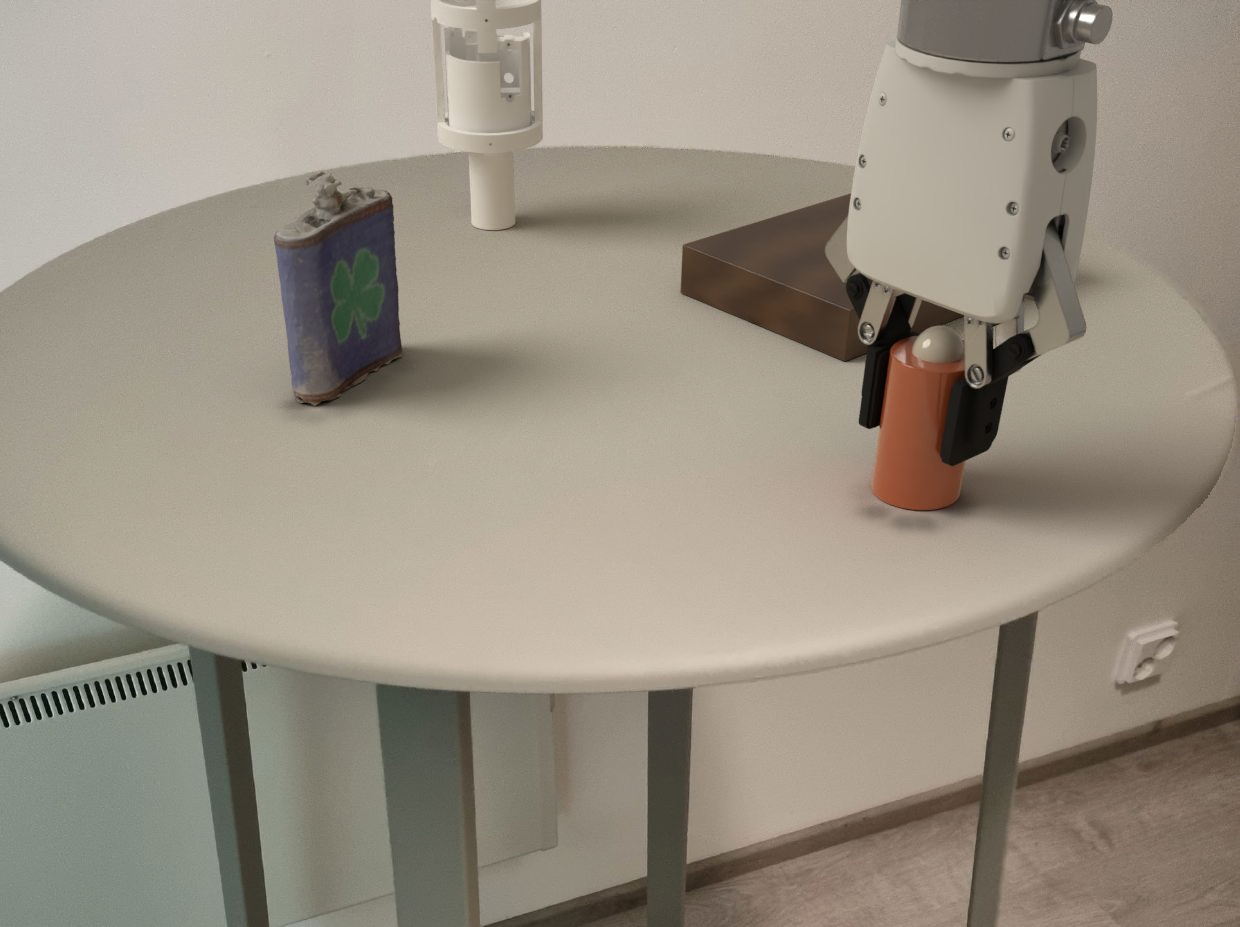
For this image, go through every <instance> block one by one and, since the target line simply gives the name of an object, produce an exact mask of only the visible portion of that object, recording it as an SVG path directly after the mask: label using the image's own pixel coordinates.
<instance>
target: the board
mask: <svg viewBox="0 0 1240 927" xmlns="http://www.w3.org/2000/svg"><path fill="white" fill-rule="evenodd" d="M850 198H851V192H850V193H847V194H844V195H840V196H836V197H834V198H831V199H827V200H824V201H821V202H817V203H815V204H814V203H813V204H812V205H808V206H805V207H802V208H797V209H795V210H792V211H788V212H785V213H782V214H779V215H775V216H772V217H769V218H765V219H762V220H759V221H756V222H752V223H749V224H746V225H742V226H739V227H736V228H733V229H729V230H726V231H722V232H719V233H716V234H713V235H710V236H706V237H703V238H700V239H696V240H694V241H693V240H692V241H690V242H687V243H684V244H682V248H681V249H682V250H681V270H680V272H681V273H680V293H681V294H683V295H685V296H688V297H689V298H692V299H695V300H697V301H700V302H702V303H704V304H706V305H709V306H712V307H713V308H716V309H719V310H721V311H723V312H726V313H728V314H730V315H733V316H734V317H737V318H740V319H742V320H745V321H747V322H750V323H752V324H755V325H757V326H760V328H761V327H762V328H764V329H767V330H769V331H771V332H773V333H776V334H778V335H780V336H783V337H785V338H788V339H790V340H792V341H795V342H797V343H800V344H802V345H804V346H807V347H809V348H811V349H814V350H816V351H819V352H821V353H824V354H826V355H828V356H831V357H833V358H836V359H838V360H841V361H843V362H846V361H849V360H852V359H854V358H855V359H856V357H859V356H862V355H865V354H867V347H868V345H866V344H864V343H863V342H862V341H861V340H860V338H859V336H858V325H859V322H860V320H859V318H858V315H857V313H856V311H855V309H854V307H853V305H852V303H851V301H850V299H849V297H848V295H847V292H846V283H845V282H844V283H843V282H842V280H841V279H840V277H839V276H838V274H837V273H836V271H835V269H834V268H833V266H832V265H831V263H830V262H829V260H828V259H827V257H826V255H825V246H826V243H827V242H828V241H829V239H830V238H831V237H832V235H833V234H834V233H835V231H836V230H837V229H838V227H839V226H840V225H841V224H842V222H843V221H844V220H845V218H846V217H847V216H848V214H849V205H850ZM961 317H964V315H962V314H960V313H957V312H954V311H952V310H949V309H946V308H943V307H941V306H938V305H935V304H933V303H930V302H927V301H924V300H922V302H921V304H920V307H919V310H918V313H917V316H916V318H915V321H914V324H913V326H912V328H911V332H912V331H913V332H915V333H918V334H921V333H922V332H923V331H924V330H926V329H928V328H930V327H933V326H942V325H943V324H946V323H949V322H951V321H954V320H956V319H959V318H961Z"/></svg>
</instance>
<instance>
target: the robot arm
mask: <svg viewBox="0 0 1240 927" xmlns="http://www.w3.org/2000/svg"><path fill="white" fill-rule="evenodd" d="M1113 15H1114V14H1113V11H1112V8H1111V7H1110V6H1108V5H1106V4H1105V5H1104V4H1100V3H1098V2H1097V0H900V9H899V15H898V23H897V31H896V37H893V38H892V39H890V40H888V41H887V42H886V44H885V47H884V50H883V53H882V56H881V60H880V63H879V66H878V69H877V72H876V75H875V80H874V82H873V86H872V89H871V93H870V97H869V101H868V104H867V105H868V106H867V109H866V114H865V117H864V121H863V125H862V131H861V136H860V140H859V146H858V150H857V157H856V161H855V166H854V172H853V179H852V185H851V191H850V193H851V198H850V205H849V214H848V216H847V217H846V218H845V220H844V221H843V222H842V224H841V225H840V226H839V227H838V229H837V230H836V231H835V233H834V234H833V235H832V237H831V238H830V239H829V241H828V242H827V243H826V246H825V255H826V257H827V259H828V260H829V262H830V263H831V265H832V266H833V268H834V269H835V271H836V273H837V274H838V276H839V277H840V279H841V280H842V282H843V283H844V282H845V283H846V292H847V295H848V297H849V299H850V301H851V303H852V305H853V307H854V309H855V311H856V313H857V315H858V318H859V320H860V322H859V325H858V336H859V338H860V340H861V341H862V342H863V343H864V344H866V345H868V347H867V353H865V354H866V355H865V363H864V370H863V379H862V385H861V386H862V387H861V399H860V407H859V414H858V415H859V416H858V425H859V426H861V427H863V428H865V429H868V430H871V429H874V428H877V427H879V426H880V419H881V411H882V404H883V397H884V390H885V383H886V376H887V369H888V362H889V355H890V349H891V347H892V346H893V344H895V343H896V342H897V341H899V340H902V339H904V338H908V337H912V336H919V335H920V334H921V333H915V332H913V331H912V332H911V328H912V326H913V324H914V321H915V318H916V316H917V313H918V310H919V307H920V304H921V302H922V300H924V301H927V302H930V303H933V304H935V305H938V306H941V307H943V308H946V309H949V310H952V311H954V312H957V313H960V314H962V315H964V316H963V330H964V331H963V337H964V339H963V340H964V349H965V379H962V380H960V381H957V382H955V383H954V384H953V386H952V388H951V393H950V399H949V405H948V410H947V416H946V422H945V428H944V434H943V440H942V446H941V451H940V458H941V460H942V462H943V463H946V464H948V465H950V466H955V465H957V464H959V463H961V462H964V461H966V462H967V461H968V460H970V459H972V458H975V457H977V456H979V455H981V454H983V453H986V452H987V451H989V450H990V448H992V445H993V443H994V441H995V440H996V437H997V436H998V432H999V427H1000V422H1001V417H1002V413H1003V412H1002V411H1003V407H1004V402H1005V398H1006V392H1007V391H1006V390H1007V387H1008V381H1009V377H1010V376H1012V375H1014V374H1016V373H1019V372H1020V371H1021V370H1022V369H1023V368H1024V367H1025V366H1027V365H1028V364H1030V363H1031V362H1033V361H1034V360H1036V359H1038V358H1039V357H1041V356H1043V355H1044V354H1045V353H1048V352H1051V351H1053V350H1056V349H1058V348H1061V347H1063V346H1065V345H1068V344H1070V343H1072V342H1075V341H1078V340H1079V339H1081V338H1084V336H1085V334H1086V332H1087V323H1086V322H1087V321H1086V319H1085V315H1084V312H1083V309H1082V307H1081V302H1080V300H1079V297H1078V293H1077V290H1076V287H1075V280H1076V278H1077V273H1078V268H1079V263H1080V259H1081V255H1082V254H1081V253H1082V248H1083V242H1084V238H1085V232H1086V231H1085V230H1086V224H1087V218H1088V213H1089V212H1088V211H1089V205H1090V199H1091V198H1090V197H1091V190H1092V183H1093V175H1094V174H1093V173H1094V165H1095V155H1096V141H1097V127H1098V126H1097V125H1098V72H1097V70H1098V69H1097V64H1096V62H1093V61H1091V60H1087V59H1083V58H1081V55H1082V51H1083V50H1084V49H1085V45H1086V44H1091V45H1096V46H1097V45H1100V44H1102V42H1104V40H1105V39H1106V37H1108V34H1109V32H1110V30H1111V27H1112V24H1113ZM1025 299H1026V300H1029V301H1033V302H1034V303H1035V307H1036V309H1037V312H1038V321H1037V323H1036V324H1035V325H1034V326H1033V327H1030V328H1028V329H1026V330H1025ZM994 328H995V329H994ZM994 330H995V333H994ZM994 334H995V336H994ZM994 338H995V340H994ZM994 342H995V343H994ZM994 344H995V347H994Z"/></svg>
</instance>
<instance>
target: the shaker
mask: <svg viewBox="0 0 1240 927" xmlns="http://www.w3.org/2000/svg"><path fill="white" fill-rule="evenodd" d="M919 334H920V335H919V336H912V337H908V338H904V339H902V340H899V341H897V342H896V343H895V344H893V346H892V347H891V349H890V355H889V362H888V369H887V376H886V383H885V390H884V397H883V404H882V411H881V419H880V426H878V434H877V439H876V447H875V455H874V461H873V468H872V475H871V482H870V483H871V484H870V487H871V491H872V492H873V494H874V496H875V497H877V498H878V500H879V499H880V500H881V501H883V502H885V503H886V504H888V505H891V506H894V507H897V508H901V509H904V510H905V509H906V510H914V511H933V510H939V509H943V508H946V507H949V506H951V505H953V504H954V503H956V501H957V500H958V499H959V498H960V495H961V491H962V485H963V480H964V475H965V468H966V464H967V460H966V461H964V462H961V463H959V464H957V465H955V466H950V465H948V464H946V463H943V462H942V460H941V458H940V451H941V446H942V440H943V434H944V428H945V422H946V416H947V410H948V405H949V399H950V393H951V388H952V386H953V384H954V383H955V382H957V381H960V380H962V379H965V349H964V339H962V337H961V336H960V334H959V333H958V332H957V331H956V330H954V329H953V328H952V327H949V326H947V325H938V326H933V327H930V328H928V329H926V330H924V331H923V332H920V333H919Z"/></svg>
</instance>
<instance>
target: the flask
mask: <svg viewBox="0 0 1240 927" xmlns="http://www.w3.org/2000/svg"><path fill="white" fill-rule="evenodd" d="M320 177H321V178H320ZM318 178H320V179H318ZM310 181H312V182H314V181H315V182H314V185H315V191H314V196H313V197H312V199H311V202H312V203H313V205H314V206H315V207H313V208H311V209H309V210H307V211H305V212H304V213H302V214H300V215H298V216H296V217H295V218H293V219H292V220H291V221H289V222H287V224H285V225H282V227H280V228H279V229H278V230H276V232H275V233H274V236H273V242H274V249H275V256H276V262H277V271H278V278H279V284H280V295H281V304H282V310H283V317H284V324H285V332H286V340H287V353H288V363H289V369H290V376H291V389H292V392H293V396H294V397H295V398H294V399H295V400H296V401H297V403H300V404H302V403H303V404H304V403H308V404H311V405H313V406H317V405H319V404H320V403H321V402H326V401H332V400H334V399H337V398H339V397H341V396H342V392H344V391H346V390H348V389H350V388H352V387H353V386H354V387H355V386H356V385H358V384H360V383H363V381H365V380H366V379H367V377H368V375H369V373H371V372H378V370H379V368H380V367H382V366H384V365H390V363H391V362H392V361H393V360H396V359H399V358H401V357H402V356H403V347H402V346H403V345H402V337H401V328H400V326H401V323H400V313H399V312H400V306H399V304H400V303H399V282H398V281H399V280H398V275H397V270H398V269H397V257H396V240H395V234H396V232H395V223H394V222H395V215H394V203H393V196H392V195H391V193H390V192H389V191H387V190H384V189H379V188H376V187H372V186H358V185H353V186H352V187H351V186H350V187H349V188H348V190H346V191H343V192H340V191H338V189H337V188H338V187H340V186H342V182H341V180H337V179H336V178H335V177H334V176H333V175H332V173H328V174H326V173H325V172H324V171H323V170H319V171H316V172H315V173H312V174H310V175H309V176H308V179H307V180H305V182H304V184H305V186H309V184H310Z"/></svg>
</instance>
